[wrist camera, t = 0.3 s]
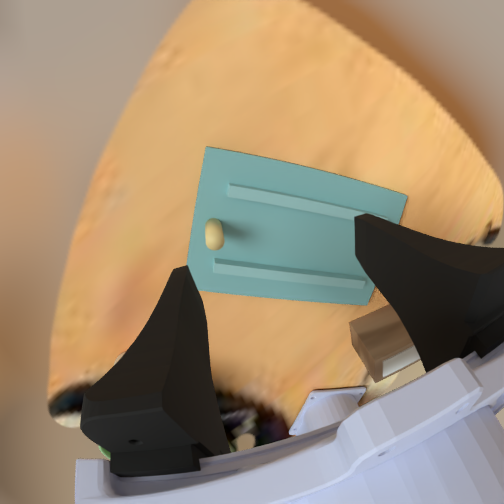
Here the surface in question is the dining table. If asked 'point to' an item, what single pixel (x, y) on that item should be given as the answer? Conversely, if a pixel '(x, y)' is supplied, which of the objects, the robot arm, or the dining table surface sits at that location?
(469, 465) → the robot arm
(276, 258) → the light blue peg board
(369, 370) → the walnut frame
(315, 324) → the dining table surface
